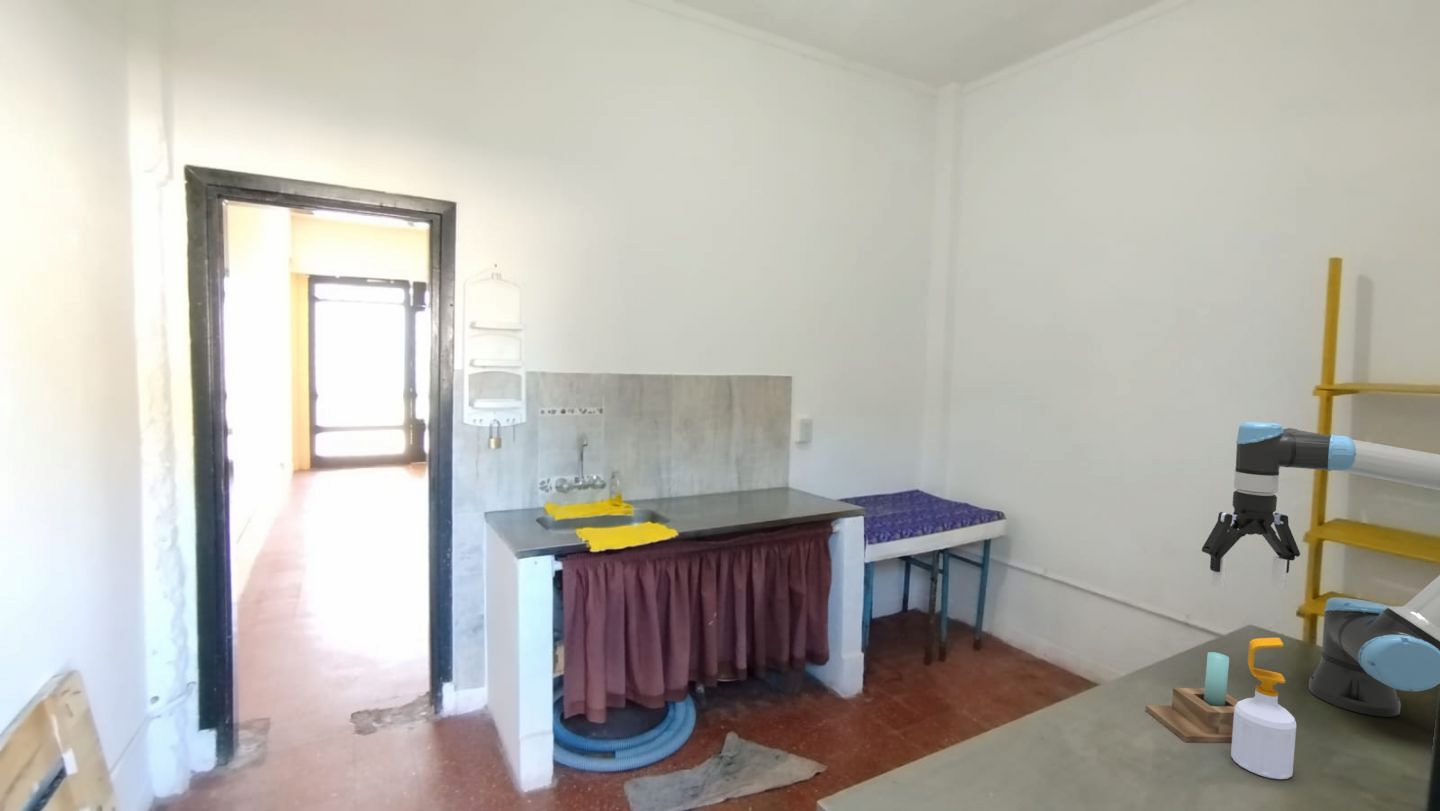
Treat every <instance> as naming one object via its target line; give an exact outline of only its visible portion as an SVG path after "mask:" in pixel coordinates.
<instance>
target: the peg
mask: <svg viewBox="0 0 1440 811" xmlns="http://www.w3.org/2000/svg"><path fill="white" fill-rule="evenodd" d="M1229 665H1230V657H1229V656H1228V655H1226V654H1223V653H1219V652H1214V651H1209V652H1207V658H1206V669H1205V679H1204V680H1205V681H1204V688H1205V689H1204V702H1206V703H1207V704H1209V705H1210V706H1225V700H1226V694H1227V688H1228V677H1229V676H1228V675H1229Z"/></svg>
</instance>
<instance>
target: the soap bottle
mask: <svg viewBox="0 0 1440 811" xmlns="http://www.w3.org/2000/svg"><path fill="white" fill-rule="evenodd" d="M1282 647H1284V643H1283V641H1282V639H1281V638H1280V637H1261V638H1260V637H1259V638H1258V637H1257V638H1253V639H1251V640H1250V641H1249V642H1248V655H1247V666H1248V667H1249V670H1250V673H1251V675H1252V676H1253V677H1255V678H1257V679H1258V681H1260V682H1261V685H1260V684H1259V685H1255V689H1254V696H1252V697H1247V698H1245V699H1241V700H1238V701H1239V702H1237V704H1236V705H1235V708H1234V720H1233V733H1232V743H1231V746H1230V747H1231V749H1230V757H1231V758H1232V759H1233V762H1235V764H1238V766H1240V767H1241V768H1243V769H1245V770H1246V771H1249V772H1251V773H1253V774H1255V775H1258V776H1261V777H1265V778H1269V779H1273V780H1287V779H1290V778H1291V777H1292V776H1293V773H1294V772H1293V771H1294V770H1293V769H1294V762H1295V760H1294V759H1295V746H1296V734H1297V722H1296V718H1295V717H1294V716H1293V714H1291V713H1290V712H1289V711H1288V710H1287V709H1286V708H1285V707H1283V706H1281V705H1280V704H1279V701H1278V699H1279V691H1278V690H1277V689H1275V688H1274V685H1278V684H1277V683H1280V684H1285V683H1286V680H1285V677H1284V675H1283V674H1282V673H1279V672H1275V671H1272V670H1271V671H1270V670H1266V669H1262V668H1257V667H1254V666H1255V655H1256V651H1257V650H1259V649H1268V648H1269V649H1270V648H1282Z"/></svg>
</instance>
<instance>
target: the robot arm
mask: <svg viewBox="0 0 1440 811" xmlns="http://www.w3.org/2000/svg"><path fill="white" fill-rule="evenodd" d="M1237 431H1238V432H1237V436H1236V439H1237V440H1236V442H1235V443H1236V449H1235V450H1236V453H1235V454H1236V456H1235V470H1234V481H1233V482H1234V484H1233V488H1235V490H1234V491H1233V494H1232V507H1233V509H1234V511H1233V513H1226V512H1223V511H1220V512H1218V516H1217V522H1216V523H1215V525H1214V527H1213V528H1212V530H1211V532H1210V533H1209V535H1208V537H1207V539H1206V541H1205V542H1204V544H1203V546H1202V547H1201V552H1202V553H1205V554H1208V555H1209V556H1210V564H1209V569H1210V571H1212V573H1211V585H1214V586H1215V587H1218V588H1220V589H1224V588H1225V582H1226V568H1227V558H1225V557H1224V556H1225V555H1226V554H1228V552H1229V551H1230V550H1231V549H1232V548H1233V546H1235V544H1236V543H1238V541H1240V539H1241V538H1242V537H1245V536H1247V535H1249V536H1252V535H1258V536H1259V535H1260V536H1262V537H1263V538H1264V540H1266V542H1267V543H1268V544H1269V546H1270V547H1271V548H1272V550H1273V551H1274V553H1275V554H1276V556H1275V555H1274V556H1273V558H1272V571H1271V582H1270V584H1271V586H1273V587H1275V588H1278V589H1281V590H1285V589H1286V581H1287V580H1286V579H1287V574H1288V573H1289V572H1290V561H1294V560H1295V559H1296V558H1298V557H1300V556H1301V552H1300V550H1299V547H1298V545H1297V543H1296V540H1295V538H1294V535H1293V533H1292V530H1291V528H1290V526H1289V516H1288V515H1286V514H1282V513H1279V512H1276V511H1277V504H1278V503H1277V502H1278V496H1276V494H1277V493H1278V491H1279V478H1280V477H1279V476H1280V468H1281V467H1282V468H1296V469H1307V470H1322V471H1328V472H1331V471H1339V472H1344V473H1348V474H1353V475H1358V476H1364V477H1369V478H1375V479H1380V480H1385V481H1390V482H1396V483H1401V484H1405V485H1411V486H1416V487H1421V488H1426V489H1432V490H1438V491H1440V454H1437V453H1432V452H1428V451H1427V452H1426V451H1420V450H1415V449H1409V448H1403V447H1397V446H1393V445H1392V446H1391V445H1386V444H1382V443H1374V442H1369V441H1362V440H1358V439H1357V440H1356V439H1352V438H1351V437H1349V436H1346V435H1335V434H1333V433H1332V434H1322V433H1318V432H1311V431H1305V430H1300V429H1297V428H1290V427H1287V428H1285V427H1284V428H1283V426H1282V424H1280V423H1276V422H1262V421H1245V422H1242V423H1241V424H1240V425H1238V430H1237ZM1274 512H1275V513H1274ZM1272 525H1273V526H1274V528H1275V529H1274V528H1273V527H1272ZM1275 530H1276V531H1275ZM1277 535H1278V536H1277ZM1323 612H1324V616H1323V617H1324V618H1323V620H1324V621H1323V630H1322V632H1323V634H1322V645H1321V657H1320V660H1319V662H1318V663H1317V665H1316V667H1315V669H1314V671H1313V674H1312V675H1310V677H1309V680H1308V681H1309V682H1308V691H1309V692H1310V693H1311V694H1312V695H1314V696H1315V697H1317V698H1318V699H1320V700H1322V701H1324V702H1326V703H1328V704H1331V705H1333V706H1336V707H1337V708H1338V707H1339V708H1341V709H1345V710H1348V711H1350V712H1355V713H1359V714H1363V715H1367V716H1374V717H1380V718H1381V717H1384V718H1387V717H1388V718H1390V717H1397V716H1399V715H1400V714H1401V707H1402V706H1401V700H1400V698H1399V696H1398V694H1397V690H1399V691H1405V692H1421V691H1427V690H1430V689H1433V688H1435V687H1436V686H1438V685H1439V684H1440V574H1439V575H1438V576H1437V577H1436V578H1435V579H1433V580H1432V581H1431V582H1430V583H1429V584H1428V585H1426V586H1425V587H1424V588H1423V589H1422V590H1420V592H1419V593H1417V594H1416V595H1415V596H1414V597H1413V598H1412V599H1410V601H1408V602H1407V603H1406V604H1405V605H1402V606H1391V605H1387V604H1383V603H1379V602H1377V601H1376V602H1374V601H1369V600H1363V599H1357V598H1356V599H1355V598H1350V597H1336V596H1335V597H1330V598H1328V599H1327V600H1326V602H1325V608H1324V610H1323Z"/></svg>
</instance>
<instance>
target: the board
mask: <svg viewBox="0 0 1440 811" xmlns="http://www.w3.org/2000/svg"><path fill="white" fill-rule="evenodd" d="M1204 689H1205V687H1204V688H1203V687H1200V688H1199V687H1190V688H1189V687H1173V688H1172V698H1171V699H1172V700H1171V702H1172V703H1171V705H1149V704H1148V705H1145V712H1147V713H1148V714H1149V715H1150V716H1152V717H1153V718H1154V719H1156V720H1157V721H1158V722H1159V723H1161V724H1162V725H1163V726H1164V727H1165V728H1167V729H1168V730H1169V731H1171V733H1173V734H1175V735H1176V736H1177V737H1178V738H1179V739H1180V740H1182V741H1183V742H1184V743H1216V744H1217V743H1222V744H1224V743H1226V744H1227V743H1229V744H1230V743H1231V744H1232V733H1233V720H1234V708H1235V705H1236V704H1237V702H1239V701H1240V700H1238V699H1236V698H1234V697H1233V696H1231V695H1230V694H1228V693H1226V700H1225V706H1210V705H1209V704H1207V703H1206V702H1204Z"/></svg>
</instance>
